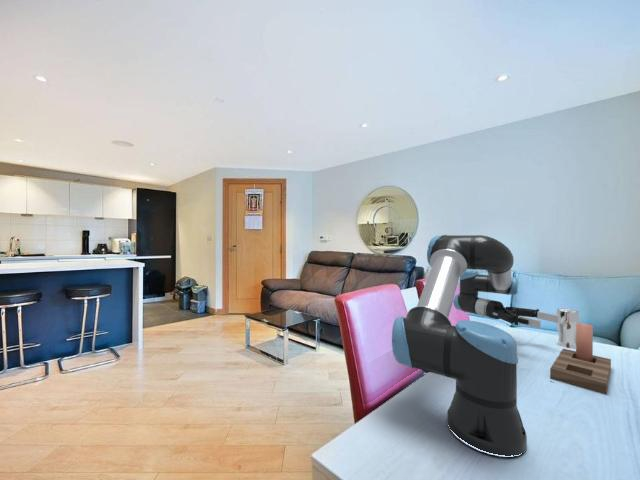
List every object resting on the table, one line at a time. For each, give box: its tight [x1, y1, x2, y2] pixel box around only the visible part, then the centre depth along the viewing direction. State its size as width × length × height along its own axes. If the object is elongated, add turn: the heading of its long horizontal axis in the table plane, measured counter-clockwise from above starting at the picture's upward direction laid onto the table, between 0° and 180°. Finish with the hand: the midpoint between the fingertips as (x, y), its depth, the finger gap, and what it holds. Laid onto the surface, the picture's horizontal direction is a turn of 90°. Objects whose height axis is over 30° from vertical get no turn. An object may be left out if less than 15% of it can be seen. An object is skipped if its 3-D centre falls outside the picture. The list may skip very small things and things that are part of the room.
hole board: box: [549, 348, 612, 396], centre depth 89 cm, size 24×12×4 cm, turn 132°
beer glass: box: [555, 308, 580, 349], centre depth 113 cm, size 7×7×15 cm
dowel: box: [575, 322, 594, 362], centre depth 94 cm, size 4×4×14 cm
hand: (549, 321), depth 102 cm, fingers open, 13 cm apart
